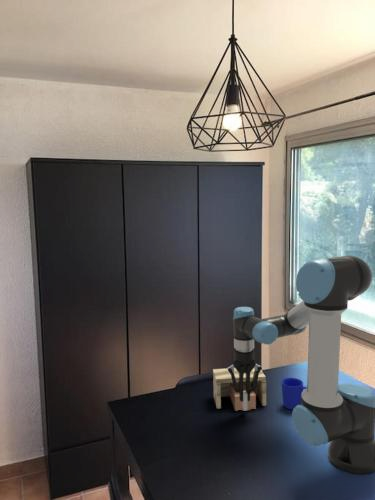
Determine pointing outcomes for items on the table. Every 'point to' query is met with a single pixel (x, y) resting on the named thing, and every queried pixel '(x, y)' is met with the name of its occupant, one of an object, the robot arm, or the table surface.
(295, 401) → the mug
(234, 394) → the tan brown block
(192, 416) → the table surface
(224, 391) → the shelf nook
